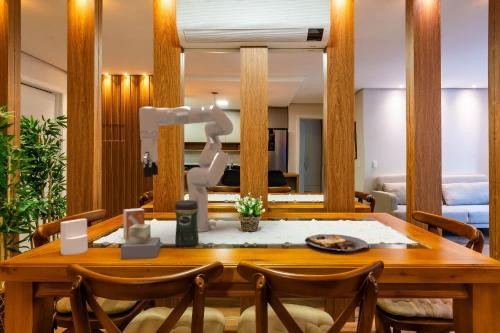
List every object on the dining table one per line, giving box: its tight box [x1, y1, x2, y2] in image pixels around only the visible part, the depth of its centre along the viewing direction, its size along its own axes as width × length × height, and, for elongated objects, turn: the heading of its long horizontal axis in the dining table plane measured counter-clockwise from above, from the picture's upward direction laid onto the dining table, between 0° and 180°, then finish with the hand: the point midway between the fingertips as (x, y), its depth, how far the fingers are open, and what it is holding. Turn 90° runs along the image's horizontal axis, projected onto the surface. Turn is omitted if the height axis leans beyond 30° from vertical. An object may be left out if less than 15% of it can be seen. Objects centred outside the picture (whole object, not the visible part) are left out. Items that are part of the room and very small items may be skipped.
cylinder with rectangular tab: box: [60, 218, 88, 256], centre depth 119 cm, size 9×9×12 cm
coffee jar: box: [174, 199, 200, 247], centre depth 129 cm, size 10×8×19 cm
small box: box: [122, 207, 146, 241], centre depth 139 cm, size 8×6×13 cm
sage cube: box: [129, 223, 152, 244], centre depth 116 cm, size 6×6×6 cm
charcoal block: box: [120, 236, 161, 260], centre depth 116 cm, size 12×12×5 cm
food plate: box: [304, 233, 369, 253], centre depth 127 cm, size 25×23×4 cm
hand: (151, 175), depth 132 cm, fingers open, 9 cm apart
